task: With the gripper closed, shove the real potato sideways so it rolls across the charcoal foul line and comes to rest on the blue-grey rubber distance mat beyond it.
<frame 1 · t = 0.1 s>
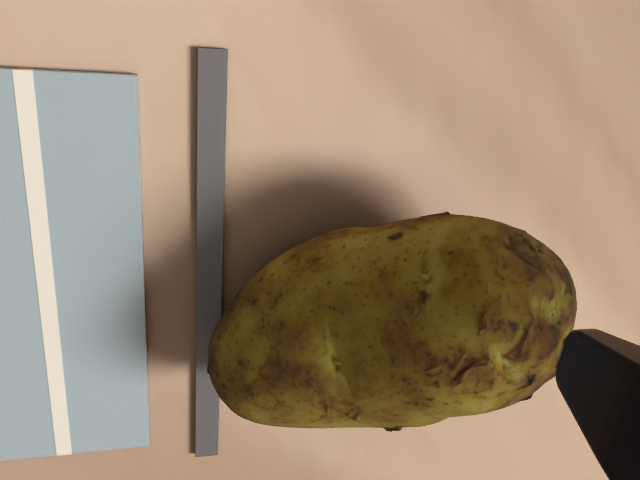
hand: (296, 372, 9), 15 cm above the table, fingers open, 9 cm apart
foul line: (208, 280, 24), on the table
distance mat: (4, 287, 22), on the table
potato: (350, 274, 26), on the table, touching foul line
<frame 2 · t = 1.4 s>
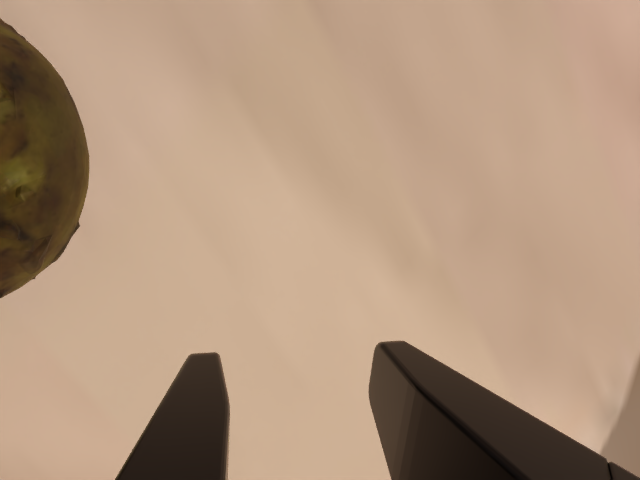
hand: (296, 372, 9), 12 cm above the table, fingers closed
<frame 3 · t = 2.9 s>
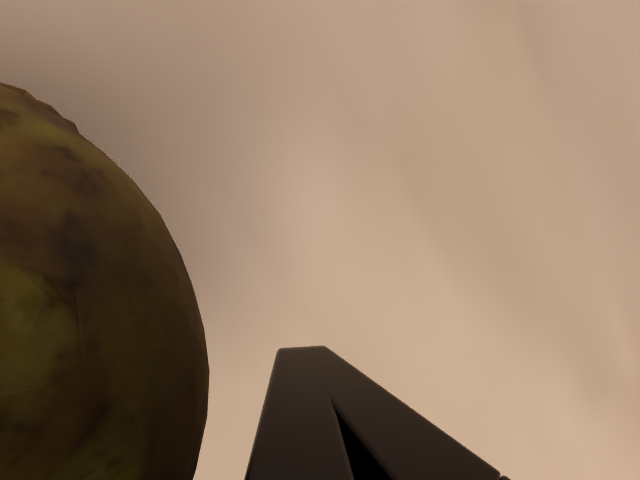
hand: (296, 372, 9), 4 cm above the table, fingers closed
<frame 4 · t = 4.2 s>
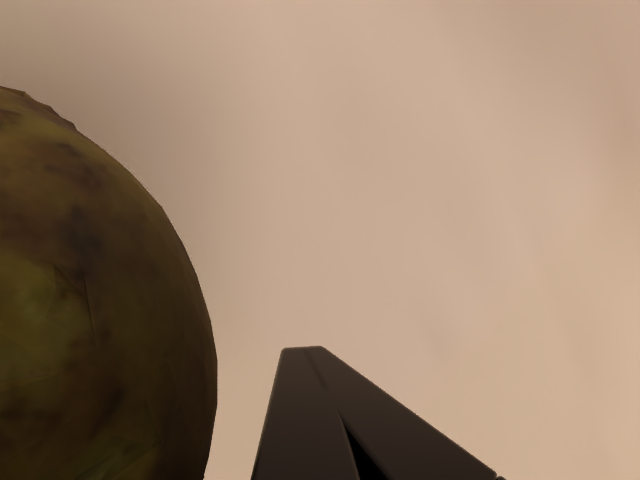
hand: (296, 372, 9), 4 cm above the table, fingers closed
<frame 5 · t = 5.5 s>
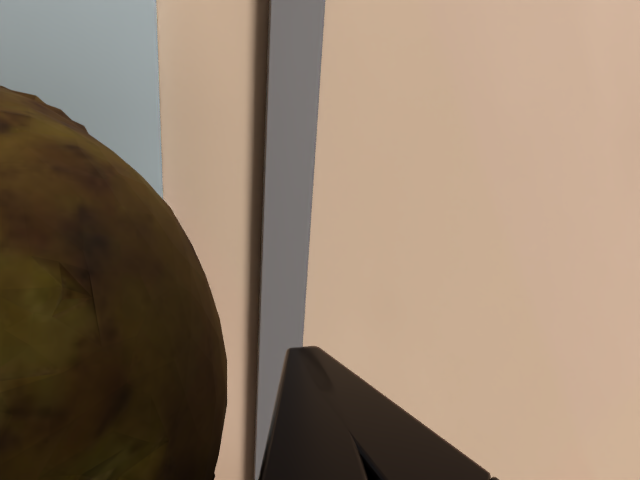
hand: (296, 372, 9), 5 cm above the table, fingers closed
foul line: (283, 269, 13), on the table
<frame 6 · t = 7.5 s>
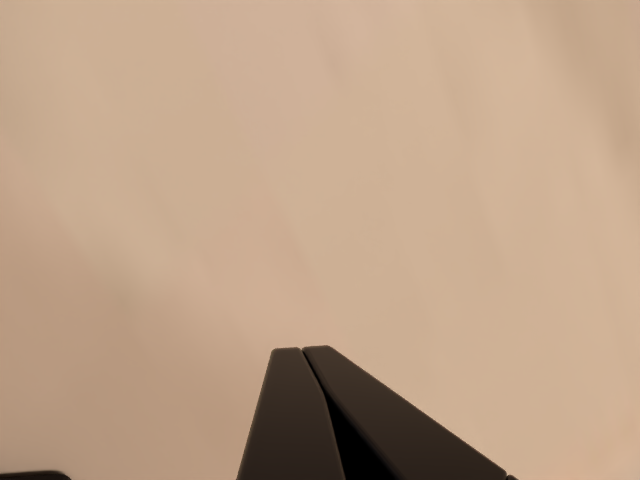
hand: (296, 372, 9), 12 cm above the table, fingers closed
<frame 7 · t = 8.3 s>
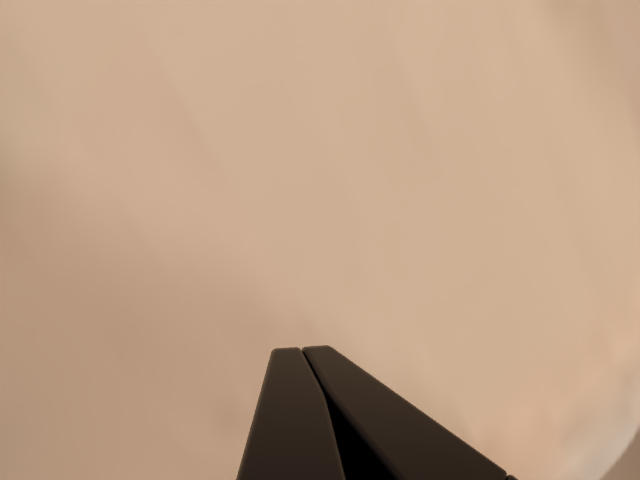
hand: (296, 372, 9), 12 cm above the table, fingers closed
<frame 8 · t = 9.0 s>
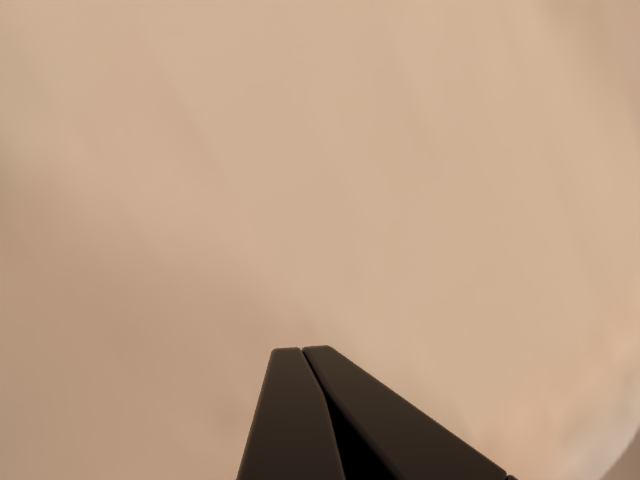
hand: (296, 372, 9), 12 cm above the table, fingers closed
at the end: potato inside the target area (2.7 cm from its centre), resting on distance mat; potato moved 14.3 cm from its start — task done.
